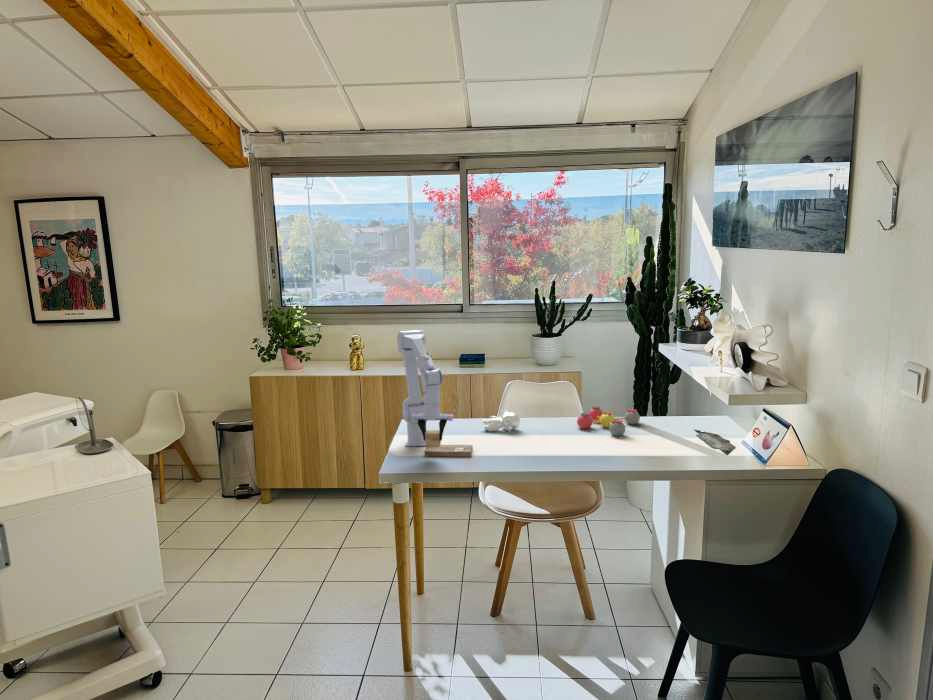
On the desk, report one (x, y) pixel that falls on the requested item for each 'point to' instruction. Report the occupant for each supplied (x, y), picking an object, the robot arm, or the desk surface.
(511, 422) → the figurine
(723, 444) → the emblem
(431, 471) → the desk surface
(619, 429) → the molecule model
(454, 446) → the board
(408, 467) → the desk surface
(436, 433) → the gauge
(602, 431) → the desk surface
